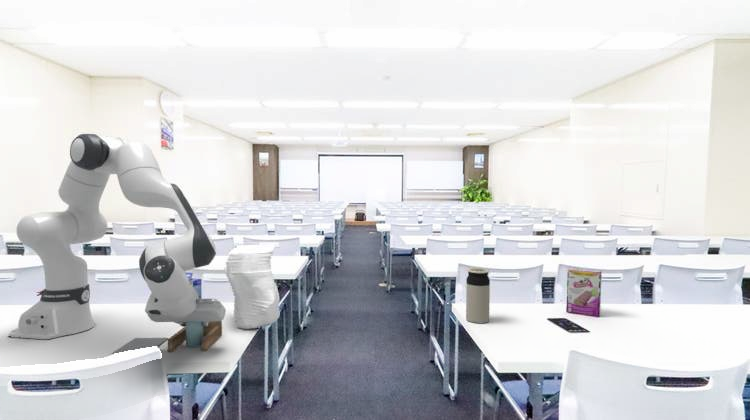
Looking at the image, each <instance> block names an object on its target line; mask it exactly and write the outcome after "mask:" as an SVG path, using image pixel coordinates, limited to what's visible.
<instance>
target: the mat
mask: <svg viewBox="0 0 750 420" xmlns="http://www.w3.org/2000/svg"><path fill="white" fill-rule="evenodd" d="M168 339H169V337H135V338H133V339H132V340H129V342H127V343H126V344H124V345H122V346H121V347H119V348H118V349H116V350H115V351H113V352H111V353H110V354H114V353H119V352H124V351H128V350H135V349H140V348H146V347H152V346H158V347H160V346H161V345H163V344H164V343H165V342H167V341H168Z"/></svg>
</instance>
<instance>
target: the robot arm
mask: <svg viewBox="0 0 750 420" xmlns="http://www.w3.org/2000/svg"><path fill="white" fill-rule="evenodd" d="M69 157H70V162H69V164H68V166H67V168H66V171H65V173H64V175H63V178H62V180H61V182H60V186H59V188H58V191H57V192H58V196H59V198H60V199H61V201H62V202H63V203H64V204H66V205H68V208H67V209H65V210H64V211H43V212H38V213H33V214H29V215H26V216H23V217H22V218H21V219H20V220H19V222H18V223H17V226H16V236H17V238H18V240H19V241H20V242H21V244H22V245H24V246H26V247H28V248H29V249H31V250H32V251H34V252H35V253H36V255H37V256H38V257H39V259H40V261H41V263H42V265H43V266H42V267H43V271H44V282H45V285H44V286H45V288H44V289H42V290H41V291H38V292H37V291H36V297H38V296H40V298H39V301H37V302H36V303H35V304H34V305H32V306H31V307H30V308H28V309H27V310H26V311H24V312H23V313H21V315H20V316H19V320H18V324H17V325H18V326H17V327H16V328H14V329H13V330H10V332H9V333H8V336H11V337H10V338H19V337H20V339H21V338H22V339H34V340H35V339H36V340H38V339H39V340H50V339H55V338H60V337H63V336H68V335H75V334H77V333H78V334H79V333H81V332H85V331H88V330H89V329H92V328H94V327H95V326H96V324H95V321H94V319H93V315H92V312H91V307H90V296H91V293H90V292H91V291H90V284H89V283H88V280H89V279H88V264H87V261H86V260H85V259H84V258H82V257H80V256H78V255H75V254H74V253H73V251H72V248H71V245H76V244H84V243H85V244H87V243H89V242H93V241H96V240H98V239H102V238H103V237H104V236H105V235H106V233H107V230H108V221H107V219H106V218H105V215H103V214H102V213H101V212H100V202H101V198H102V196H103V193H104V191H105V188H106V186H107V184H108V181H109V179H110V176H111V175H117V176H116V177H117V180H118V184H119V186H120V189H121V192H122V195H123V196H124V198H125V199H126V200H127V201H128V202H130V203H132V204H134V205H135V206H136V205H137V206H139V207H144V208H163V209H169V210H170V209H171V210H173V211H175V212H176V213H177V215H178V216H179V218H180V220H181V222H182V223H183V225H184V227H185V228H186V230H187V232H186V233H185V234H182V235H180V236H177V237H174V238H170V239H167V240H164V241H160V242H157V243H154V244H152V245H149V246H146V247H145V248H144V250H143V251H142V252H141V255H140V257H139V260H138V265H139V266H138V267H139V270H140V274H141V277H142V278H143V280H144V281H145V282H146V284H147V286H148V288H149V290H150V292H151V294H150V295H149V297H148V299H147V302H146V305H145V308H144V312H145V313H146V314H147V315H146V316H147V317H148V319H150V321H152V322H154V323H175V324H177V325H179V326H180V327H182V328H183V327H185V326H186V322H201V325H202V326H208V323H209V322H213V321H222V322H223V320H224V319H225V316H226V312H227V310H226V307H225V306H224V305H223V303H221V301H220V300H218V299H216V298H202V299H199V297H198V295H197V293H196V291H195V289H194V288H193V286H192V284H191V283H190V282H189V279H188V277H187V276H188V274H187V275H186V274H185V272H187V271H191V270H193V269H197V268H198V269H199V268H202V267H206V266H209V265H210V264H211V263H212V262H213V260H214V259H215V257H216V255H217V251H216V250H217V249H216V245H215V242H214V241H213V239H212V237H211V236H210V235H209V233H208V232H207V231H206V230H205V229H204V227H203V225H202V224H201V222H200V220H199V218H198V216H197V214H196V213H195V211H194V209H193V207H192V205H191V204H190V203H189V201H188V199H187V198H186V197H185V195H184V193H183V191H182V190H181V188H180V187H179V186H178V185H177V184H175V183H170V182H169V181H167V180H166V178H164V176H163V174H162V171H161V167H160V165H159V163H158V161H157V158H156V157H155V155H154V153H153V151H152V149H151V148H150V147H149V146H148V145H147V144H145V143H143V142H140V141H130V140H128V139H123V138H120V137H112V136H104V135H97V134H96V133H81V134H78V135H77V136H76V137H75V138H73V140H72V142H71V144H70V147H69Z"/></svg>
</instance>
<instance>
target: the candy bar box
mask: <svg viewBox="0 0 750 420" xmlns="http://www.w3.org/2000/svg"><path fill="white" fill-rule="evenodd" d="M602 273H603V272H602V271H601V270H592V269H583V268H573V267H569V268H568V269H567V279H566V280H567V281H566V284H567V285H566V309H565V310H566V312H565V313H570V314H574V315H575V314H576V315H583V316H589V317H596V318H597V317H598V318H599V317H600V315H601V303H602V302H601V301H602V300H601V299H602V278H603V277H602Z"/></svg>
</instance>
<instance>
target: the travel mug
mask: <svg viewBox="0 0 750 420" xmlns="http://www.w3.org/2000/svg"><path fill="white" fill-rule="evenodd" d="M466 271H467V274H468V275H467V277H466V285H465V289H466V292H465V293H466V295H465V301H466V302H465V303H466V304H465V306H466V308H465V313H466V314H465V319H466V320H467V321H468V322H470V323H473V324H485V323H488V322H489V321H490V301H491V300H490V298H491V297H490V291H491V290H490V287H491V283H490V280H491V279H490V278H489V273H490V270H489V269H487V268H482V267H481V268H480V267H471V268H468V269H467V270H466Z"/></svg>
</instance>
